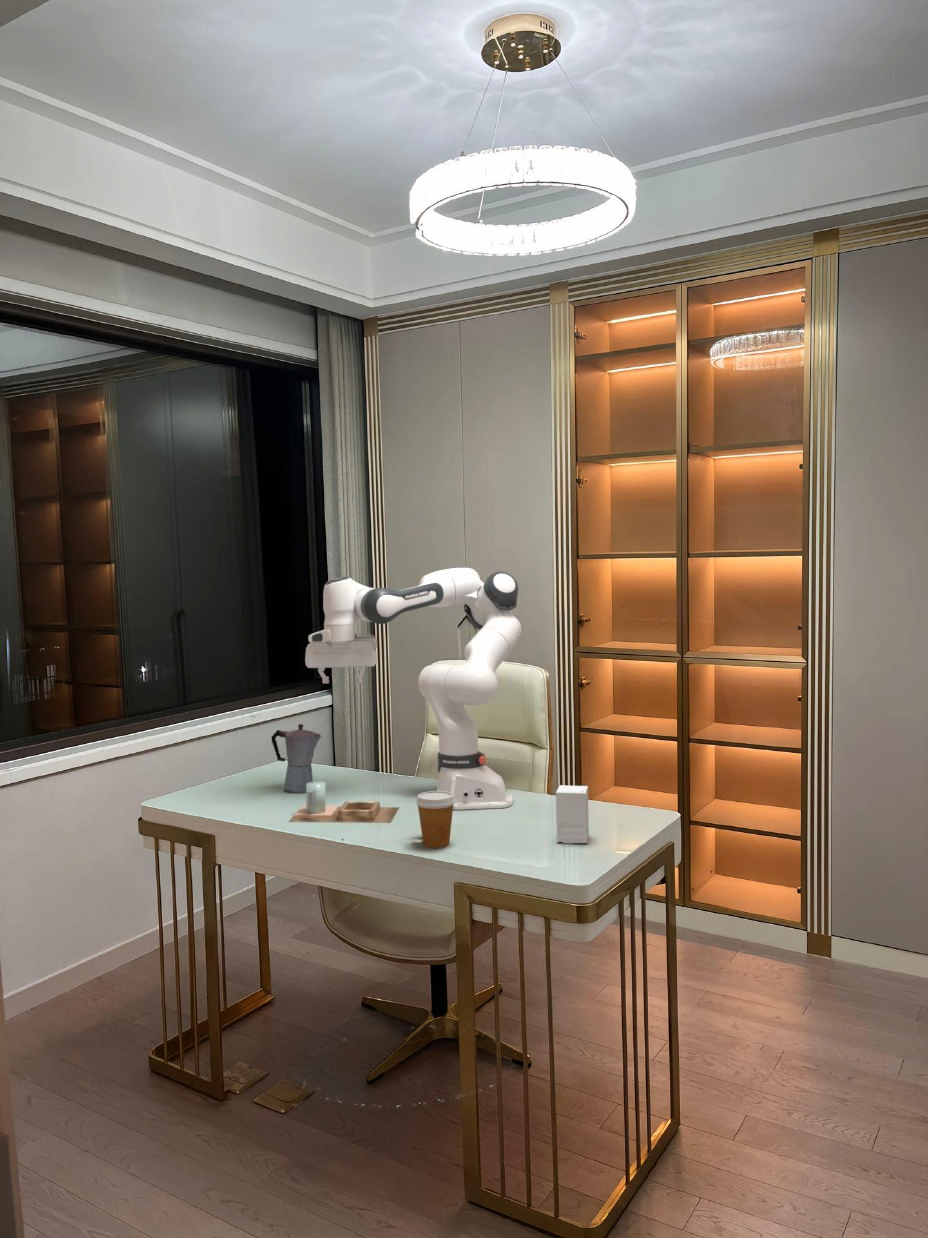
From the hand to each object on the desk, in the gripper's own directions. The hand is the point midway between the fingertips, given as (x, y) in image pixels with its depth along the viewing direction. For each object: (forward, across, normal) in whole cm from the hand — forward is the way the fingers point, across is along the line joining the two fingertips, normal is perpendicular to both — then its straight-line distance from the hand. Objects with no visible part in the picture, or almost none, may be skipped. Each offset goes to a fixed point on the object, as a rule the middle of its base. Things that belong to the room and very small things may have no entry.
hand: (342, 682), depth 268 cm
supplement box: (+35, -63, +37) cm, 81 cm away
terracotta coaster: (+33, +5, +18) cm, 37 cm away
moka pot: (+34, +17, -12) cm, 40 cm away
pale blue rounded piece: (+32, +5, +20) cm, 38 cm away
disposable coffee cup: (+34, -30, +42) cm, 61 cm away
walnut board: (+34, -3, +19) cm, 39 cm away
